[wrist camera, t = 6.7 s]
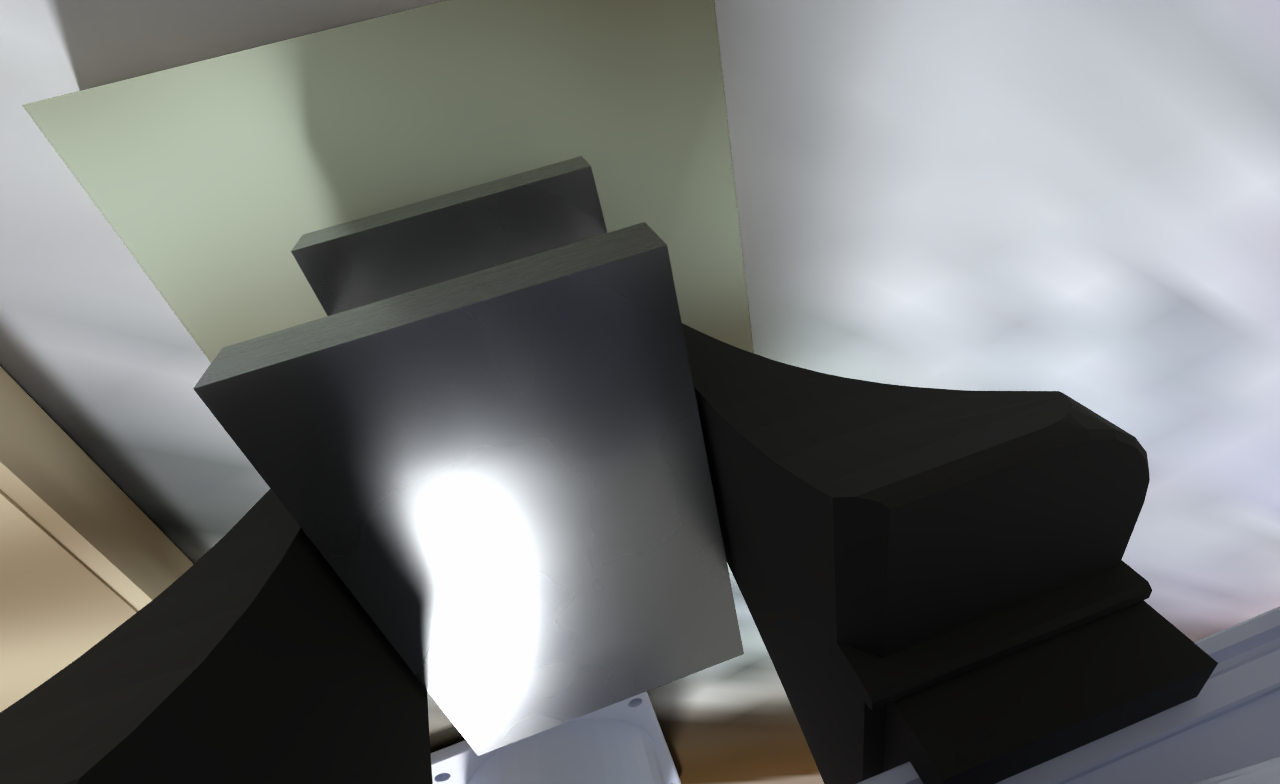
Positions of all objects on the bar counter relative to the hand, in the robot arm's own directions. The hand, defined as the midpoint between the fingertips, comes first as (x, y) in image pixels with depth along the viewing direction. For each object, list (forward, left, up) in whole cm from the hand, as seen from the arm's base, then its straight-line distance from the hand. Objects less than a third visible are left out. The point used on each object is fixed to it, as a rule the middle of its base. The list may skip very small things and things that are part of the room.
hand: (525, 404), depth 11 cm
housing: (0, 0, -1) cm, 1 cm away
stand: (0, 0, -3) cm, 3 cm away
